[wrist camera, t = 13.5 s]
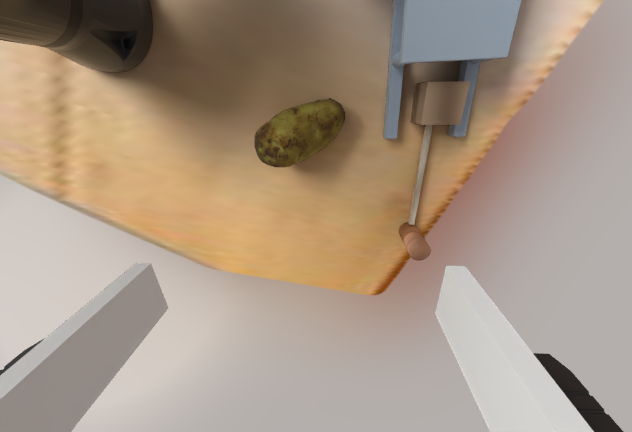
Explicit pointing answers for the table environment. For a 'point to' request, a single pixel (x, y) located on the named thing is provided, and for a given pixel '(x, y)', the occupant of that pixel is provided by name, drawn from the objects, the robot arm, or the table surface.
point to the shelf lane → (446, 44)
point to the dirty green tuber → (299, 132)
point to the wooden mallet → (429, 109)
